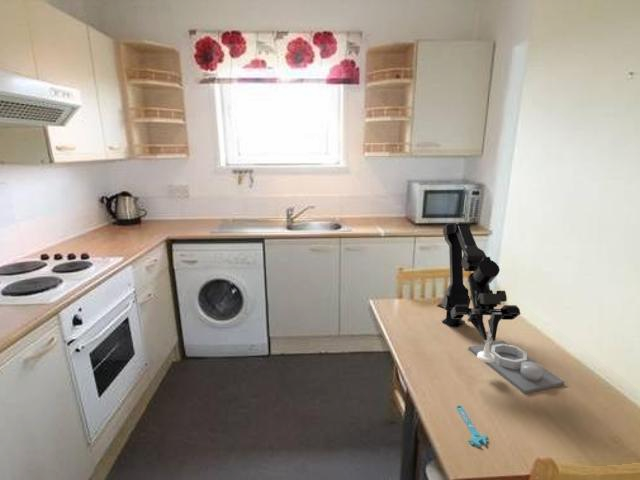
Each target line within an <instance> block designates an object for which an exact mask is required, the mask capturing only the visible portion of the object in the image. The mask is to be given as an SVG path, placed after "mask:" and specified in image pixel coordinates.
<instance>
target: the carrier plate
mask: <svg viewBox="0 0 640 480" xmlns="http://www.w3.org/2000/svg"><path fill="white" fill-rule="evenodd" d="M485 344H486V343H481V344H475V345H472V346H468V348H467V350H469V351H470V352H471V353H472V354H474V355H475V356H476V357H477V354H478V352H481V351H484V348H485ZM489 352H490V353H491V354H493V355H494V357H495V361H494V362H484V363H485V364H486V365H487V366H489V367H490V368H491V369H492V370H494V371H495V372H496V373H498V374H499V375H500V376H501V377H503V379H505V380H507V382H508V383H510V384H511V385H512V386H514V387H515V389H516V388H517V390H519V391H521V392H522V394H523V395H524V394H529V393H534V392H538V391H543V390H546V389H552V388H556V387H560V386H564V385H565V380H563V379H561V378H559V377H558V376H557V375H555V374H554V373H552V372H551V371H549V370H548V369H546V368H545V367H543V366H542V365H540V364H539V363H538V362H536V361H534V359H533V360H532V359H531V358H530V357H529V356H528V353H527V352H526V351H524V350H522V349H521V348H520V347H518V346H515V345H512V344H511V345H510V344H509V343H507V341H504V340H499V341H492V343H489Z"/></svg>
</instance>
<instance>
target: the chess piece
mask: <svg viewBox="0 0 640 480" xmlns="http://www.w3.org/2000/svg"><path fill="white" fill-rule="evenodd" d="M486 336H487V340H486V341H484V340H483V342H484V344H485V348H484V351H481V352H478V354H477V356H476V357H477V359H478V360H479V361H480V362H484V363H485V362H494V361H495V357H494V355H493V354H491V353H490V352H489V343H492V342H493V340H492V333H490V327H489V326H488V328H487V331H486Z"/></svg>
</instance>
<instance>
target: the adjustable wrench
mask: <svg viewBox="0 0 640 480" xmlns="http://www.w3.org/2000/svg"><path fill="white" fill-rule="evenodd" d="M455 408H456V411H458V413H459V414H460V417H461V419H462V420H463V423H465V425H466V426H467V427H466V428H467V429H468V431H469V432H470V435H471V439H469V440H468V443H469V444H470V446H475V447H476V448H479V447H483V446H484V447H486V446H487V443H489V438H488V435H485V434H481V433H479V431H478V430H477V429H476V427H475V426H474V424H473V422H472V421H471V418H470V417H469V415H468V414H467V412H466V411H465V408H464V407H463V406H462V405H456V406H455ZM463 412H464V413H463ZM462 413H463V415H462ZM464 414H465V415H464ZM463 416H464V417H465V419H464V417H463ZM466 417H467V419H466Z"/></svg>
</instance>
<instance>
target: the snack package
mask: <svg viewBox="0 0 640 480" xmlns="http://www.w3.org/2000/svg"><path fill="white" fill-rule="evenodd" d="M436 306H437V307H441V308H443V309H444V307H443V305H442V300H441V301H440V302H439V303H438V304H436Z"/></svg>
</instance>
